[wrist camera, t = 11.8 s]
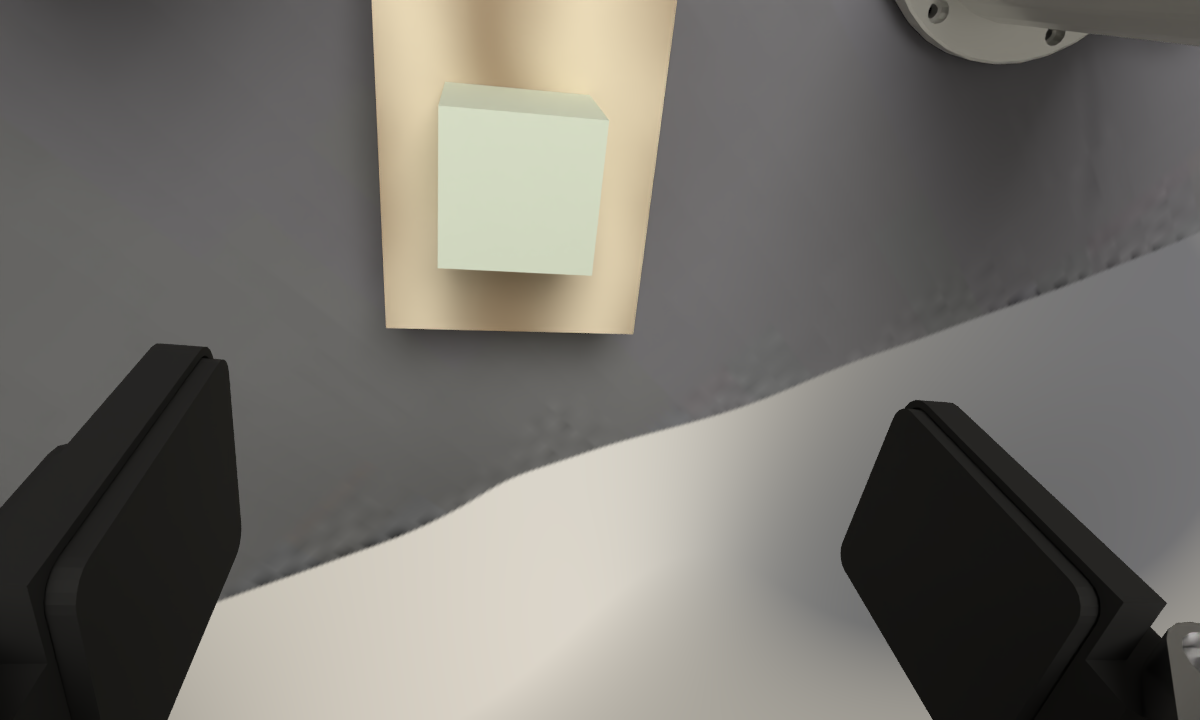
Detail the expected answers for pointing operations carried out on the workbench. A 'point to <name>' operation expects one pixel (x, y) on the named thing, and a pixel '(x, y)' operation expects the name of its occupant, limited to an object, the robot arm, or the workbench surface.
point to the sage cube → (519, 179)
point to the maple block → (526, 61)
